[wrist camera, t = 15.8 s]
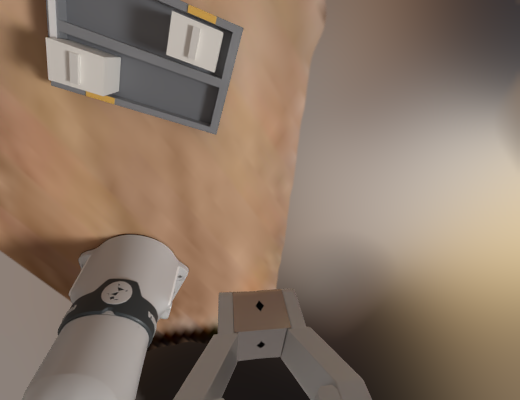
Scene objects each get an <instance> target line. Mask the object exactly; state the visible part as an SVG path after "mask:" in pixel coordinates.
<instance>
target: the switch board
mask: <svg viewBox="0 0 520 400" xmlns="http://www.w3.org/2000/svg"><path fill="white" fill-rule="evenodd" d="M46 8H47V24H48V37H49V38H57V39H66V40H73V41H75V42H78V43H81V44H84V45H87V46H90V47H93V48H95V49H98V50H101V51H104V52H107V53H110V54H113V55H115V56H118V57H121V65H120V82H119V91H118V92H115V93H112V94H109V95H106V96H101V95H97V94H94V93H91V92H87V91H84V90H81V89H77V88H74V87H71V86H68V85H64V84H61V83H58V82H54V81H51V85H52V86H55V87H58V88H62V89H65V90H68V91H72V92H75V93H78V94H82V95H85V96H88V97H92V98H95V99H98V100H102V101H105V102H108V103H112V104H115V105H119V106H122V107H125V108H129V109H132V110H135V111H139V112H142V113H145V114H149V115H152V116H155V117H159V118H162V119H166V120H169V121H172V122H176V123H179V124H182V125H186V126H189V127H192V128H196V129H199V130H202V131H206V132H209V133H212V134H216V133H217V130H218V126H219V122H220V118H221V114H222V110H223V106H224V102H225V98H226V94H227V90H228V86H229V83H230V79H231V75H232V71H233V67H234V63H235V59H236V55H237V51H238V47H239V43H240V39H241V35H242V32H243V28H242V27H240V26H237V25H235V24H233V23H230V22H228V21H226V20H224V19H221V18H219V17H217V16H214V15H212V14H210V13H208V12H205V11H203V10H201V9H198V8H196V7H194V6H192V5H189V4H187V3H185V2H182V1H180V0H46ZM172 11H174V12H176V13H179V14H181V15H183V16H186V17H188V18H191V19H193V20H195V21H198V22H200V23H202V24H205V25H207V26H210V27H212V28H214V29H217V30H219V31H221V32H223V40H222V44H221V49H220V53H219V57H218V62H217V66H216V71H215V72H211V71H209V70H206V69H203V68H201V67H198V66H195V65H193V64H190V63H187V62H184V61H182V60H179V59H176V58H174V57H171V56H168V55H166V52H167V45H168V37H169V30H170V22H171V15H172Z"/></svg>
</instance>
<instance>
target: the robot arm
mask: <svg viewBox="0 0 520 400" xmlns="http://www.w3.org/2000/svg"><path fill="white" fill-rule="evenodd" d="M79 264H80V267H81V272H80V273H79V275H78V277H77V279H76V280H75V282H74V284H73V286H72V288H71V289H70V291H69V296H70V299H71V302H72V304H73V305H72V306H71V308H70V309H69V311H68V312H67V313H66V315H65V316H64V318H63V320H62V323H61V325H60V327H59V329H58V337H57V339H56V340H55V342H54V344H53V345H52V347H51V349H50V350H49V352H48V354H47V356H46V357H45V359H44V360H43V362H42V364H41V366H40V367H39V369H38V371H37V372H36V374H35V376H34V377H33V379H32V381H31V382H30V384H29V386H28V387H27V389H26V391H25V393H24V396H23V400H135V397H136V392H137V388H138V383H139V379H140V374H141V370H142V366H143V362H144V358H145V354H146V350H147V347H148V346H149V345H150V344H151V341H152V339H153V336H154V334H155V331H156V324H157V321H158V320H159V319H160V318H162V319H167V318H168V316H169V314H170V310H171V306H172V300H173V299H174V297H175V295H176V294H177V292H178V290H179V289H180V287H181V285H182V283H183V282H184V280H185V278H186V277H187V275H188V272H189V269H188V267H186V266H185V265H184V264H182V263H181V262H179V261H178V260H177V258H176V257H175V255H174V254H173V252H172V251H171V250H170V249H169V248H168V247H167V246H165V245H164V244H163V243H161V242H159V241H157V240H155V239H152V238H149V237H145V236H140V235H122V236H117V237H114V238H111V239H109V240H107V241H105V242H104V243H103V244H101V245H100V246H99V247H98V248H96V249H93V250H90V251H86V252H84V253H82V254H81V255H80V257H79ZM180 275H181V276H180ZM269 357H270V358H271V357H281V359H282V360H283V362H284V363H285V364H286V366H287V367H288V369H289V370H290V371H291V373H292V374H293V376H294V377H295V378H296V380H297V381H298V382H299V384H300V385H301V387H302V388H303V390H304V391H305V393H306V394H307V395H308V397H309V398H310V400H372V399H371V397H370V394H369V392H368V390H367V387H366V385H365V383H364V381H363V379H362V378H361V377H360V376H359V375H358V374H357V373H356V372H355V371H354V370H353V369H352V368H351V367H350V366H349V365H348V364H347V363H346V362H345V361H343V359H342V358H341V357H340V356H339V355H338V354H337V353H336V352H334V350H332V348H331V347H329V345H328V344H327V343H325V341H324V340H323V339H321V337H319V335H317V334H316V333H315V332H314V331H313V330H312V329H311V328H310V327H306V325H305V322H304V319H303V316H302V312H301V309H300V306H299V303H298V300H297V296H296V293H295V290H294V289H274V290H260V291H250V292H223V293H219V307H218V334H217V335H214V336H213V337H212V339H211V340H210V342H209V344H208V345H207V347H206V348H205V350H204V352H203V353H202V355H201V356H200V358H199V359H198V361H197V363H196V364H195V366H194V367H193V369H192V371H191V372H190V374H189V375H188V377H187V379H186V380H185V382H184V383H183V385H182V387H181V388H180V390H179V392H178V393H177V395H176V396H175V398H174V399H173V400H224V399H223V398H221V397H222V395H223V393H224V390H225V388H226V386H227V384H228V381H229V379H230V377H231V375H232V373H233V370H234V368H235V366H236V364H237V361H242V360H250V359H257V358H269Z"/></svg>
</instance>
